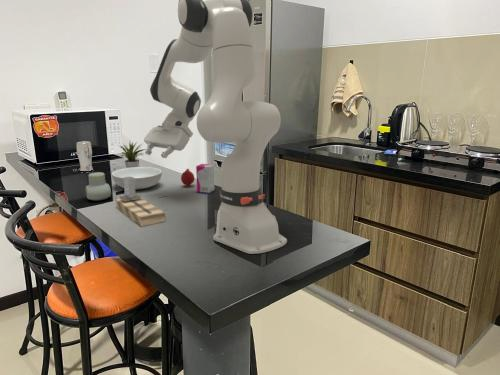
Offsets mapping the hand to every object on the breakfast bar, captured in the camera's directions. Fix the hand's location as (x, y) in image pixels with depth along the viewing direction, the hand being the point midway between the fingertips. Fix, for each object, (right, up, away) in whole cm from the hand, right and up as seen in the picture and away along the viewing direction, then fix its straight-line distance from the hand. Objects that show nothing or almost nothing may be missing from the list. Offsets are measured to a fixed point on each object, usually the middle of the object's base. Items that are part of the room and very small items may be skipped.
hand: (155, 155), depth 142 cm
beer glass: (-48, -4, +53) cm, 72 cm away
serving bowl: (-13, -12, +24) cm, 30 cm away
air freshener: (-24, -17, +7) cm, 30 cm away
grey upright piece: (-7, -16, -5) cm, 19 cm away
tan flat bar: (-3, -21, -11) cm, 24 cm away
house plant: (-24, -5, +49) cm, 55 cm away
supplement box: (+17, -14, +17) cm, 28 cm away
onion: (+8, -12, +25) cm, 29 cm away
